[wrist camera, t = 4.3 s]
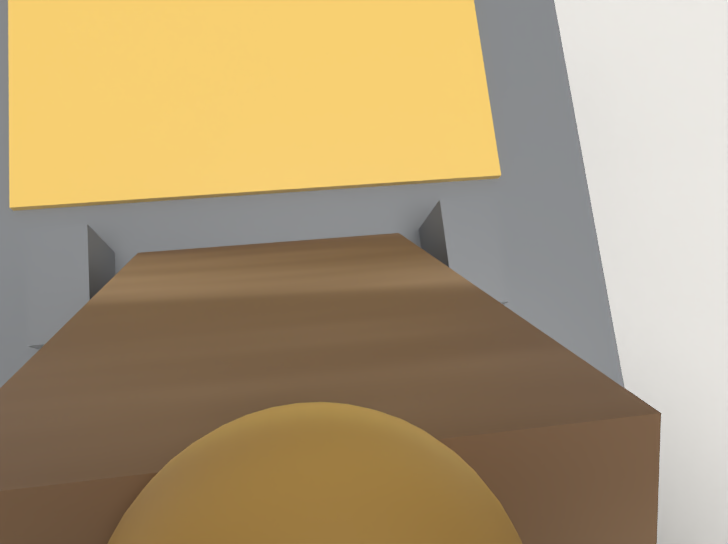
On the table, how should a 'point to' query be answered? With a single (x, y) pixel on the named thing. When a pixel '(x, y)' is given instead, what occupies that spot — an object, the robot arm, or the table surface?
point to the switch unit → (292, 147)
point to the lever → (317, 411)
